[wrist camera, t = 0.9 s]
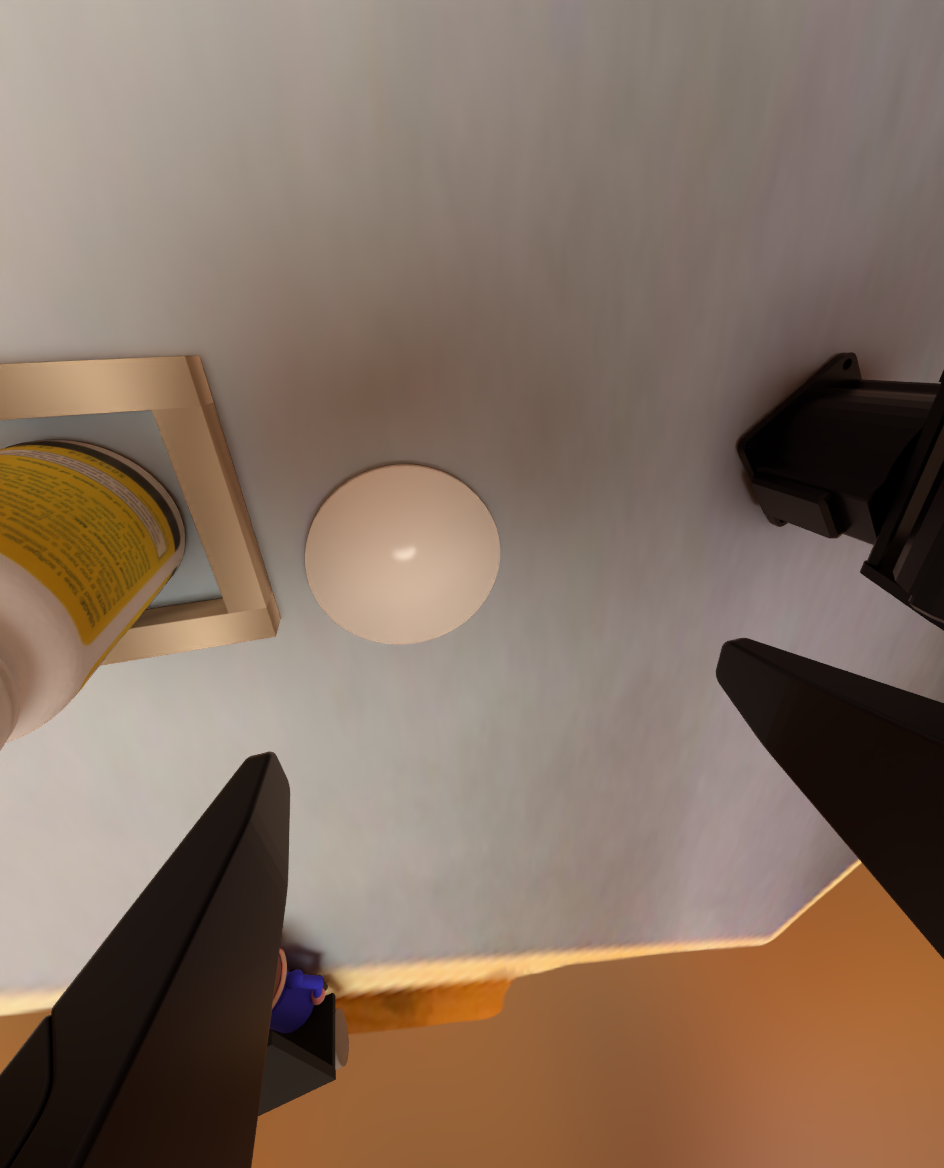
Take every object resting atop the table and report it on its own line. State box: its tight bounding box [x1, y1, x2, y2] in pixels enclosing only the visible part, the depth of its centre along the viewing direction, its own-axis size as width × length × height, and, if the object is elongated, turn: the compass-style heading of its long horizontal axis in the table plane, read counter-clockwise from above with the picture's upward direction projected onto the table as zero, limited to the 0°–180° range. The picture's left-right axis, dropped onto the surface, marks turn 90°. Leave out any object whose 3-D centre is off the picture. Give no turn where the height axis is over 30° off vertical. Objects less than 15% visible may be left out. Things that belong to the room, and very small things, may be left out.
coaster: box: [305, 464, 500, 644], centre depth 20 cm, size 9×9×1 cm
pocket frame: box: [0, 356, 281, 666], centre depth 16 cm, size 11×11×2 cm
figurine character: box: [258, 946, 349, 1116], centre depth 32 cm, size 7×8×15 cm
